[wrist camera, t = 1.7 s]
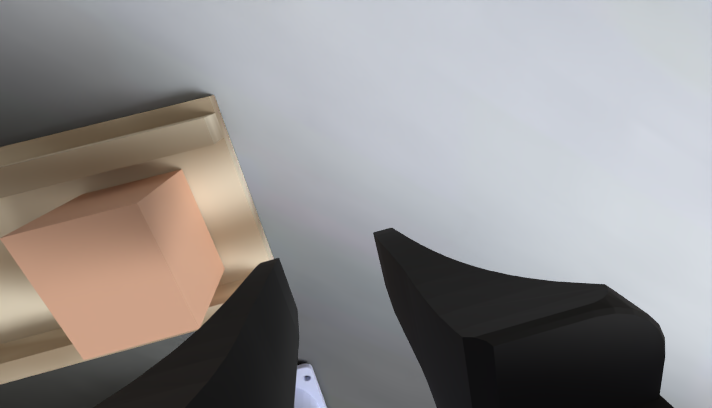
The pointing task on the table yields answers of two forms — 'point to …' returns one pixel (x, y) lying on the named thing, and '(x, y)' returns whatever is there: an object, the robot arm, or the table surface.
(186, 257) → the block
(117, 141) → the chute
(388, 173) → the table surface
